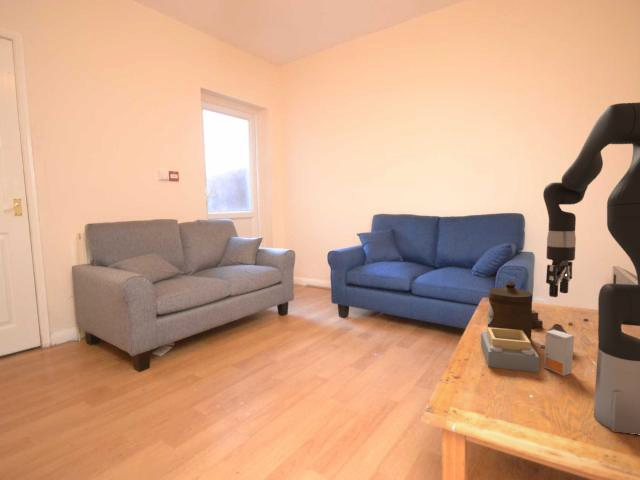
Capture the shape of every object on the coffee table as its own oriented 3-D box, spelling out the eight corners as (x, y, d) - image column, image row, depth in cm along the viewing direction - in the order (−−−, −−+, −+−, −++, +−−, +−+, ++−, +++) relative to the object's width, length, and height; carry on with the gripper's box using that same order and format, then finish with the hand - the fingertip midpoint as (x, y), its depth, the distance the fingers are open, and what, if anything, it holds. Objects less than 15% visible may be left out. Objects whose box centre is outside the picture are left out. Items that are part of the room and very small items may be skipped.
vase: (572, 353, 118) (574, 329, 117) (550, 352, 119) (551, 328, 118) (562, 345, 125) (564, 322, 124) (541, 344, 126) (542, 321, 125)
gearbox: (538, 372, 106) (539, 347, 105) (488, 366, 110) (488, 342, 109) (523, 348, 123) (524, 327, 122) (480, 344, 127) (481, 323, 126)
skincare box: (543, 367, 108) (545, 331, 107) (551, 365, 110) (553, 328, 109) (563, 376, 103) (566, 337, 102) (572, 373, 105) (574, 335, 103)
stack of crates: (538, 320, 152) (539, 305, 152) (558, 333, 138) (558, 316, 137) (502, 320, 154) (503, 305, 153) (518, 332, 139) (519, 316, 139)
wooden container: (495, 327, 143) (497, 276, 141) (536, 337, 133) (538, 281, 130) (481, 337, 133) (482, 282, 131) (523, 348, 123) (526, 288, 120)
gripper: (566, 247, 103) (563, 300, 104) (582, 244, 111) (580, 293, 113) (538, 245, 109) (536, 295, 110) (556, 242, 117) (554, 289, 119)
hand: (558, 294), depth 111 cm, fingers open, 8 cm apart
